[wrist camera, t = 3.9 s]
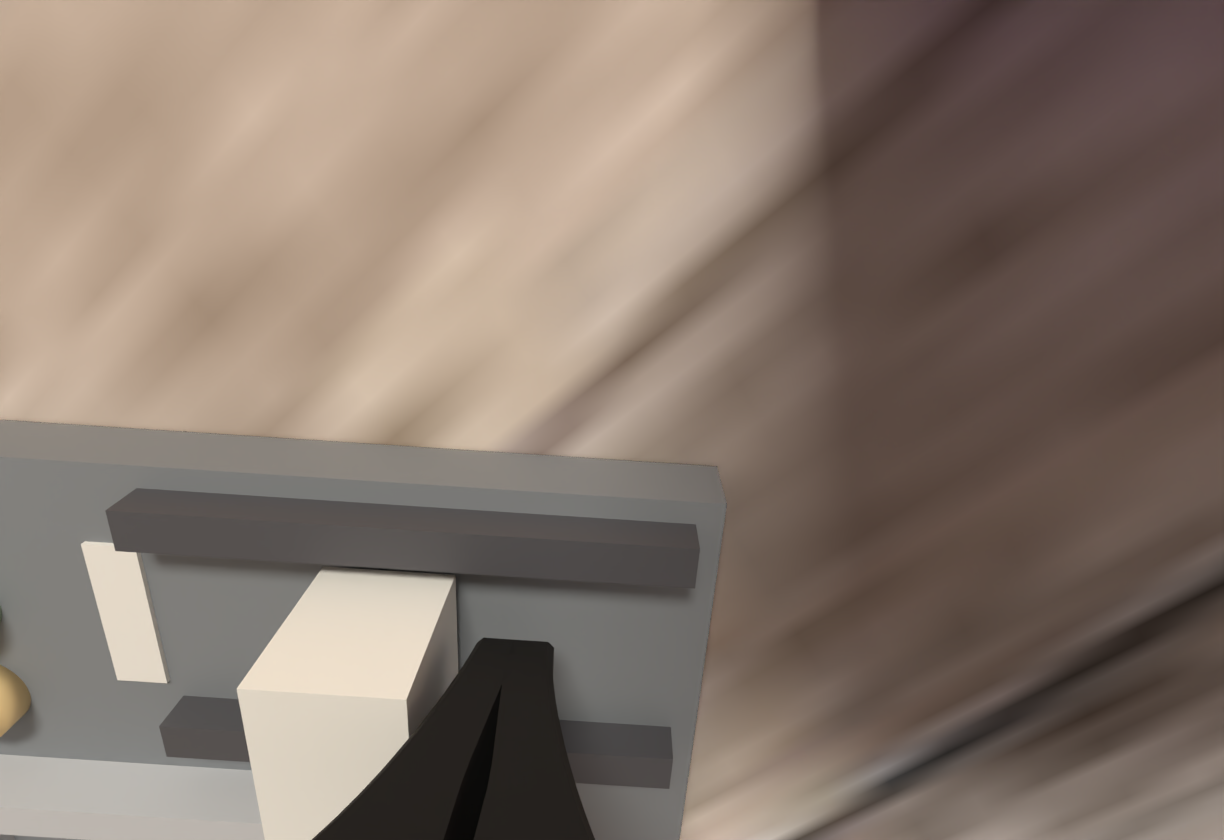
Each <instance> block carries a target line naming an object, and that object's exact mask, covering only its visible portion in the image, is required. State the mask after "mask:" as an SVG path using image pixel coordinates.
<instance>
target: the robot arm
mask: <svg viewBox="0 0 1224 840" xmlns="http://www.w3.org/2000/svg"><path fill="white" fill-rule="evenodd" d="M553 664H554V647H553V646H552V645H551V644H550V643H549V642H543V641H528V640H513V639H498V638H482V639H481V640H480V641H478V642H477V644H476V645H475V647H474V649H473V650H472V652H471V654H470V655H469V657H468V659H467V660H466V662H465V663H464V665H463V666H462V668H461V669H460V671H459V672H458V674H457V675H456V677H455V678H454V680H453V681H452V682H451V684H450V685H449V687H448V688H447V690H446V691H445V692H444V694H443V695H442V697H441V698H440V699H439V700H438V702H437V703H436V704H435V706H434V707H433V708H432V710H431V711H430V712H429V714H428V715H427V716H426V717H425V719H424V720H423V721H422V723H421V724H420V725H419V727H418V728H417V729H416V730H415V732H414V733H413V734H412V735H411V736H410V737H409V739H408V740H407V741H406V742H405V743H404V744H403V746H402V747H401V748H400V749H399V750H398V751H397V753H396V754H395V755H394V756H393V757H392V759H391V760H390V761H389V762H388V763H387V764H386V766H385V767H384V768H383V769H382V770H381V771H380V772H379V773H378V774H377V775H376V777H375V778H374V779H373V780H372V781H371V782H370V783H369V784H368V785H367V786H366V787H365V788H364V789H363V790H362V791H361V792H360V794H359V795H358V796H357V797H356V798H355V799H354V800H353V801H352V802H351V803H350V804H349V805H348V806H347V807H346V808H345V809H344V810H343V811H342V812H341V813H340V814H339V815H338V816H337V817H336V818H334V819H333V820H332V821H331V822H330V823H329V824H328V825H327V826H326V827H325V828H324V829H323V830H322V831H320V832H319V833H318V834H317V835H316V836H315V837H314V838H313V839H312V840H595V838H594V835H593V833H592V830H591V827H590V825H589V822H588V819H587V816H586V814H585V811H584V808H583V805H582V802H581V799H580V796H579V793H578V790H577V787H576V784H575V780H574V777H573V773H572V770H571V767H570V763H569V759H568V756H567V752H566V748H565V744H564V739H563V735H562V730H561V726H560V721H559V717H558V711H557V705H556V699H555V691H554V683H553Z"/></svg>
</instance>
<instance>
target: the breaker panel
mask: <svg viewBox="0 0 1224 840" xmlns="http://www.w3.org/2000/svg"><path fill="white" fill-rule="evenodd" d="M726 507H727V503H726V499H725V495H724V491H723V487H722V484H721V480H720V476H719V472H718V469H717V466H702V465H687V464H672V463H656V462H641V461H626V460H610V459H595V458H579V457H564V456H549V455H533V454H518V453H503V452H487V451H472V450H456V449H441V448H426V447H410V446H395V445H380V444H364V443H349V442H333V441H318V440H303V439H287V438H272V437H257V436H241V435H226V434H211V433H195V432H180V431H164V430H149V429H134V428H118V427H103V426H88V425H72V424H57V423H41V422H26V421H11V420H0V840H265V838H264V833H263V828H262V822H261V817H260V812H259V806H258V801H257V796H256V790H255V785H254V780H253V774H252V769H251V764H250V758H249V753H248V748H247V742H246V737H245V732H244V726H243V721H242V716H241V710H240V705H239V700H238V694H237V687H238V686H239V685H240V683H241V682H242V680H243V679H244V678H245V676H246V675H247V673H248V672H249V670H250V669H251V668H252V666H253V665H254V663H255V662H256V661H257V659H258V658H259V656H260V655H261V654H262V652H263V651H264V649H265V648H266V646H267V645H268V644H269V642H270V641H271V639H272V638H273V637H274V635H275V634H276V632H277V631H278V630H279V628H280V627H281V625H282V624H283V622H284V621H285V620H286V618H287V617H288V615H289V614H290V613H291V611H292V610H293V608H294V607H295V606H296V604H297V603H298V601H299V600H300V598H301V597H302V596H303V594H304V593H305V591H306V590H307V589H308V587H309V586H310V584H311V583H312V582H313V580H314V579H315V577H316V576H317V574H318V573H319V572H320V570H321V569H322V567H339V568H354V569H370V570H385V571H400V572H416V573H431V574H447V575H455V577H456V610H457V643H458V672H459V671H460V669H461V668H462V666H463V665H464V663H465V662H466V660H467V659H468V657H469V655H470V654H471V652H472V650H473V649H474V647H475V645H476V644H477V642H478V641H480V640H481V639H482V638H498V639H513V640H528V641H543V642H549V643H550V644H551V645H552V646H553V647H554V664H553V683H554V691H555V699H556V705H557V711H558V717H559V721H560V726H561V730H562V735H563V739H564V744H565V748H566V752H567V756H568V759H569V763H570V767H571V770H572V773H573V777H574V780H575V784H576V787H577V790H578V793H579V796H580V799H581V802H582V805H583V808H584V811H585V814H586V816H587V819H588V822H589V825H590V827H591V830H592V833H593V835H594V838H595V840H679V839H680V832H681V825H682V818H683V811H684V804H685V797H686V790H687V783H688V776H689V768H690V761H691V754H692V747H693V740H694V733H695V726H696V719H697V712H698V705H699V698H700V691H701V684H702V677H703V669H704V662H705V655H706V648H707V641H708V634H709V627H710V620H711V613H712V606H713V599H714V592H715V585H716V578H717V570H718V563H719V556H720V549H721V542H722V535H723V528H724V521H725V514H726Z"/></svg>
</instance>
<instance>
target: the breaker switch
mask: <svg viewBox="0 0 1224 840" xmlns="http://www.w3.org/2000/svg"><path fill="white" fill-rule="evenodd" d="M457 674H458V643H457V610H456V577H455V575H447V574H431V573H416V572H400V571H385V570H370V569H354V568H339V567H322V569H321V570H320V572H319V573H318V574H317V576H316V577H315V579H314V580H313V582H312V583H311V584H310V586H309V587H308V589H307V590H306V591H305V593H304V594H303V596H302V597H301V598H300V600H299V601H298V603H297V604H296V606H295V607H294V608H293V610H292V611H291V613H290V614H289V615H288V617H287V618H286V620H285V621H284V622H283V624H282V625H281V627H280V628H279V630H278V631H277V632H276V634H275V635H274V637H273V638H272V639H271V641H270V642H269V644H268V645H267V646H266V648H265V649H264V651H263V652H262V654H261V655H260V656H259V658H258V659H257V661H256V662H255V663H254V665H253V666H252V668H251V669H250V670H249V672H248V673H247V675H246V676H245V678H244V679H243V680H242V682H241V683H240V685H239V686H238V687H237V694H238V700H239V705H240V710H241V716H242V721H243V726H244V732H245V737H246V742H247V748H248V753H249V758H250V764H251V769H252V774H253V780H254V785H255V790H256V796H257V801H258V806H259V812H260V817H261V822H262V828H263V833H264V838H265V840H312V839H313V838H314V837H315V836H316V835H317V834H318V833H319V832H320V831H322V830H323V829H324V828H325V827H326V826H327V825H328V824H329V823H330V822H331V821H332V820H333V819H334V818H336V817H337V816H338V815H339V814H340V813H341V812H342V811H343V810H344V809H345V808H346V807H347V806H348V805H349V804H350V803H351V802H352V801H353V800H354V799H355V798H356V797H357V796H358V795H359V794H360V792H361V791H362V790H363V789H364V788H365V787H366V786H367V785H368V784H369V783H370V782H371V781H372V780H373V779H374V778H375V777H376V775H377V774H378V773H379V772H380V771H381V770H382V769H383V768H384V767H385V766H386V764H387V763H388V762H389V761H390V760H391V759H392V757H393V756H394V755H395V754H396V753H397V751H398V750H399V749H400V748H401V747H402V746H403V744H404V743H405V742H406V741H407V740H408V739H409V737H410V736H411V735H412V734H413V733H414V732H415V730H416V729H417V728H418V727H419V725H420V724H421V723H422V721H423V720H424V719H425V717H426V716H427V715H428V714H429V712H430V711H431V710H432V708H433V707H434V706H435V704H436V703H437V702H438V700H439V699H440V698H441V697H442V695H443V694H444V692H445V691H446V690H447V688H448V687H449V685H450V684H451V682H452V681H453V680H454V678H455V677H456V675H457Z"/></svg>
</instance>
